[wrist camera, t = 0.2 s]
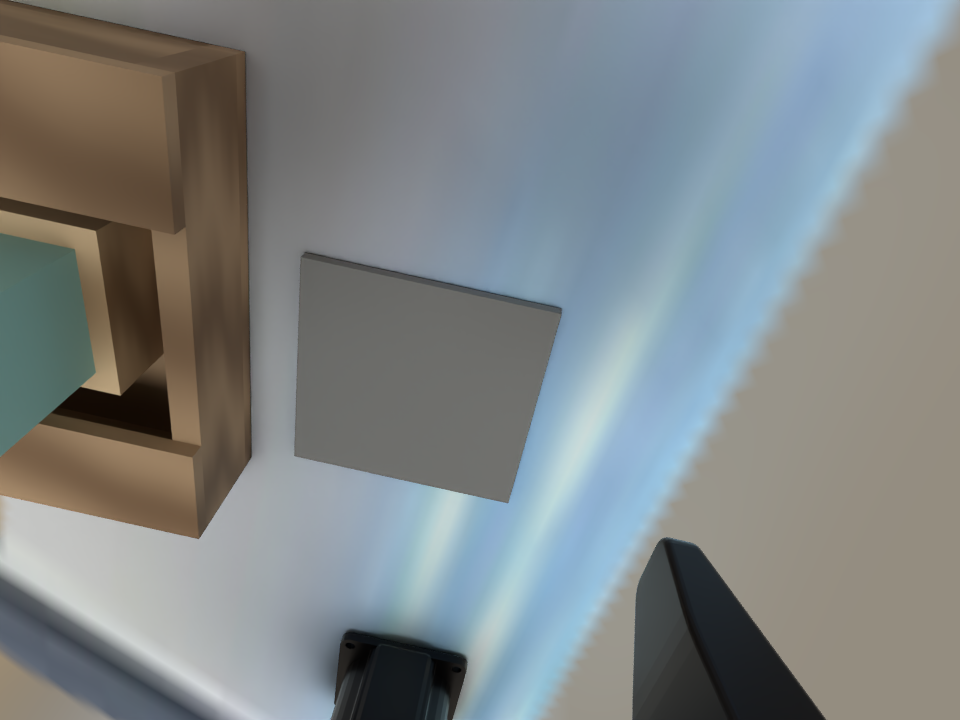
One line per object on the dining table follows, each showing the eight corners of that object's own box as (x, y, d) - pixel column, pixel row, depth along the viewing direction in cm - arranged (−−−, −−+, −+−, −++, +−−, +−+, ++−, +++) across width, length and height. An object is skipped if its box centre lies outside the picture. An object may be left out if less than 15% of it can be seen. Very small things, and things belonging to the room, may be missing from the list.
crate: (251, 457, 28) (198, 539, 24) (-23, 396, 28) (-119, 468, 24) (245, 51, 19) (161, 76, 15) (-152, -34, 19) (-334, -31, 15)
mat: (509, 496, 27) (508, 503, 27) (297, 449, 27) (294, 456, 27) (561, 308, 22) (561, 314, 22) (304, 252, 22) (300, 257, 22)
